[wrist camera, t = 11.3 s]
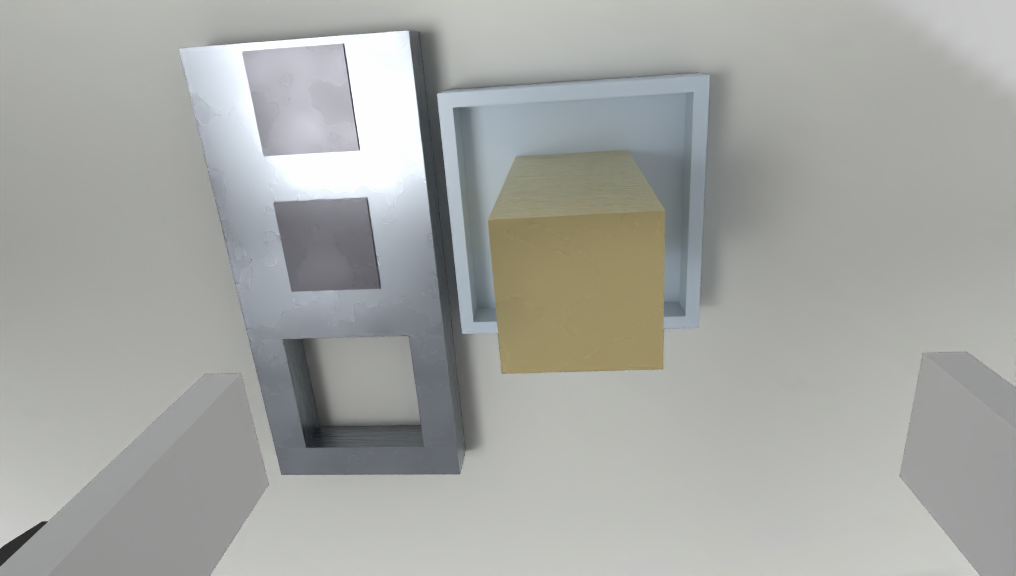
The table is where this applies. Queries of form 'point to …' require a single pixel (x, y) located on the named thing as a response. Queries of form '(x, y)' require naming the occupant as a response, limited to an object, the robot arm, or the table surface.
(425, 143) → the grey slotted plate
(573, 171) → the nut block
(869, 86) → the table surface
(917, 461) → the robot arm
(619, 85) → the tray
